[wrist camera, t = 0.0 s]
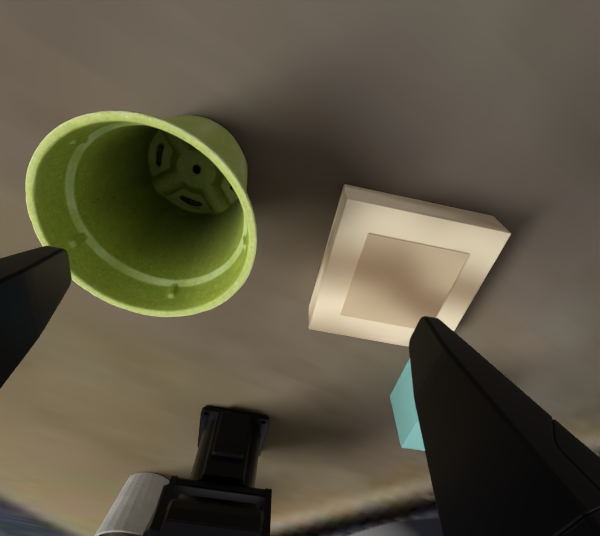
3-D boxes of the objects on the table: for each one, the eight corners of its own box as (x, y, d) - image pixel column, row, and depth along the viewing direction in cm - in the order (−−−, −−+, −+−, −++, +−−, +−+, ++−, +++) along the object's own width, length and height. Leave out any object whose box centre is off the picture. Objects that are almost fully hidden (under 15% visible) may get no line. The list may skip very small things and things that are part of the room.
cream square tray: (432, 329, 29) (441, 353, 27) (308, 307, 28) (308, 329, 26) (493, 216, 24) (512, 234, 21) (344, 183, 23) (347, 199, 21)
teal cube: (441, 403, 34) (459, 456, 30) (389, 395, 33) (400, 447, 29) (465, 367, 31) (489, 419, 27) (409, 357, 31) (425, 408, 27)
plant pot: (254, 251, 26) (232, 338, 18) (117, 213, 24) (33, 289, 17) (293, 116, 21) (283, 159, 13) (124, 58, 19) (11, 71, 12)
